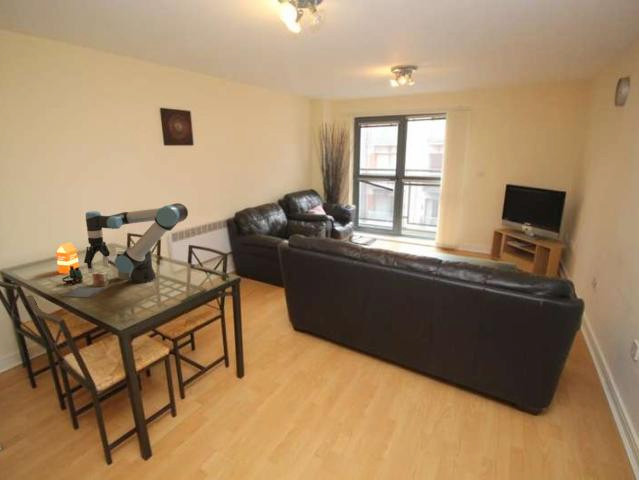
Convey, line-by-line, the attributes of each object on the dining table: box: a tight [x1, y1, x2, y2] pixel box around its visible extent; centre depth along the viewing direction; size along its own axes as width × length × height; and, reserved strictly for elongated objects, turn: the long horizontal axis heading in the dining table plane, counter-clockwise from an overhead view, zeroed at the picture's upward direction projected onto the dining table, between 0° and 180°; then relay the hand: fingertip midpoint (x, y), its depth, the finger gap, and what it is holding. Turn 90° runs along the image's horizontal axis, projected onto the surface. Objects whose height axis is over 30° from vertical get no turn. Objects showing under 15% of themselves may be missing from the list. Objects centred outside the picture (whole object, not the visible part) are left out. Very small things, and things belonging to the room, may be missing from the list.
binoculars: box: [62, 266, 84, 286], centre depth 209 cm, size 9×11×10 cm
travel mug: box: [115, 250, 132, 280], centre depth 221 cm, size 8×8×18 cm
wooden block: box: [92, 271, 110, 287], centre depth 209 cm, size 7×4×8 cm, turn 88°
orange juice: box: [55, 241, 80, 274], centre depth 229 cm, size 8×9×20 cm
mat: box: [60, 286, 105, 299], centre depth 197 cm, size 16×14×1 cm
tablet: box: [108, 254, 117, 265], centre depth 257 cm, size 16×26×2 cm, turn 51°
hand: (98, 269), depth 208 cm, fingers open, 13 cm apart
